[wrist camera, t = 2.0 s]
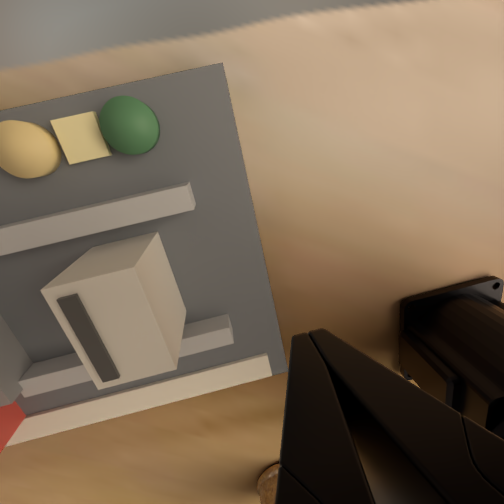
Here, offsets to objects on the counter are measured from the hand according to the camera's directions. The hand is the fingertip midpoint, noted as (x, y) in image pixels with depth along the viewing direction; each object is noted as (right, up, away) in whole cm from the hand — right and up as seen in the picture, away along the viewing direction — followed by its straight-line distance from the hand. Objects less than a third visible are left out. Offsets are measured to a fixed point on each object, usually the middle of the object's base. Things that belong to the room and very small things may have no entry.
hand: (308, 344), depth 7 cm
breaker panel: (-11, 0, +7) cm, 13 cm away
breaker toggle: (-7, +1, +6) cm, 9 cm away
